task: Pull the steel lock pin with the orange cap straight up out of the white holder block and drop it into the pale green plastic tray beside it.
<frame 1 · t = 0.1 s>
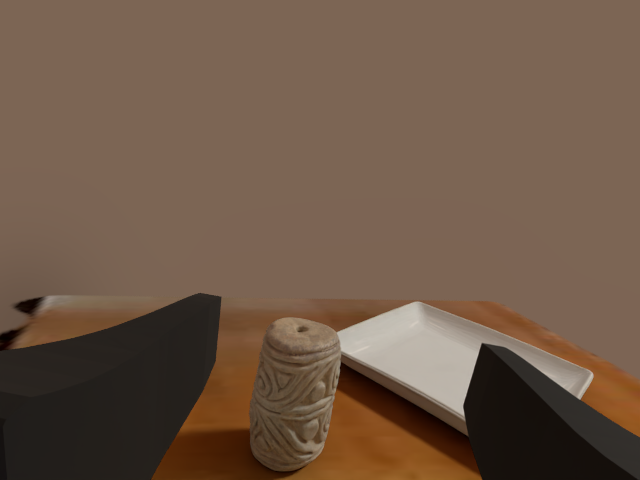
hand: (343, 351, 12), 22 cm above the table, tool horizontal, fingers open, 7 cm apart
square plate: (455, 381, 57), on the table
carving: (283, 455, 38), on the table
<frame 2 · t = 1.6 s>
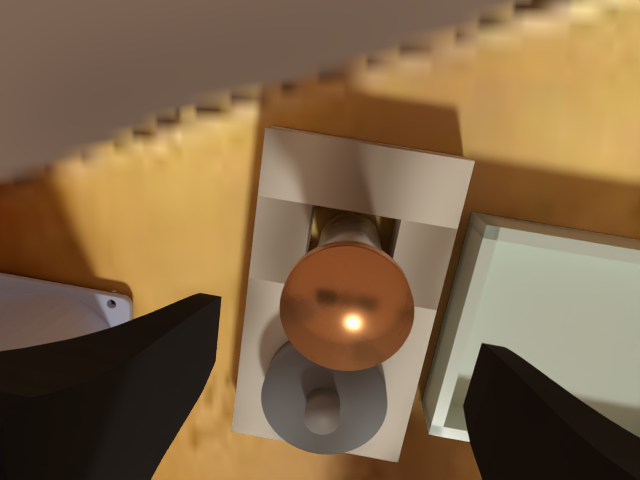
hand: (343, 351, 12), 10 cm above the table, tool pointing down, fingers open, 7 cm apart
tray: (561, 334, 22), on the table
white holder block: (340, 295, 23), on the table
lock pin: (349, 241, 22), resting in white holder block
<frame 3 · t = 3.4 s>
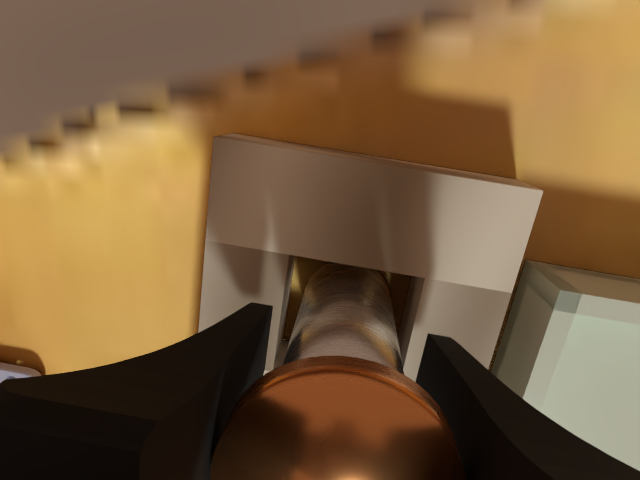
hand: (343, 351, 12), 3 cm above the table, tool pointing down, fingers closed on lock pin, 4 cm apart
white holder block: (332, 373, 16), on the table
lock pin: (346, 299, 15), resting in white holder block, touching gripper
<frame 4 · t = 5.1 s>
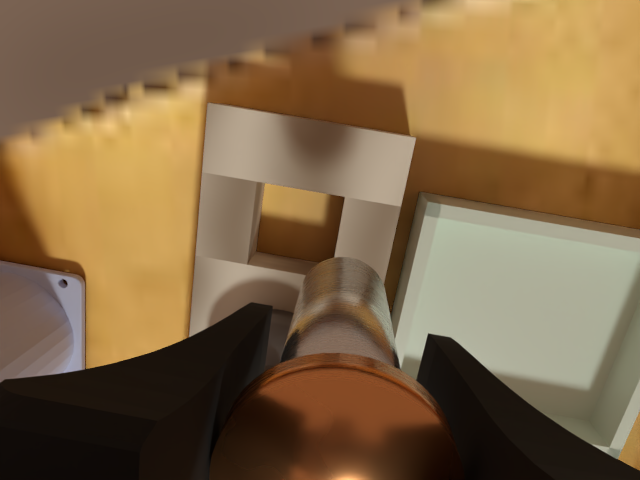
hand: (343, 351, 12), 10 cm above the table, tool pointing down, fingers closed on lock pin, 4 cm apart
tray: (510, 315, 22), on the table
white holder block: (291, 276, 23), on the table
lock pin: (342, 297, 15), point 7 cm above the table, touching gripper
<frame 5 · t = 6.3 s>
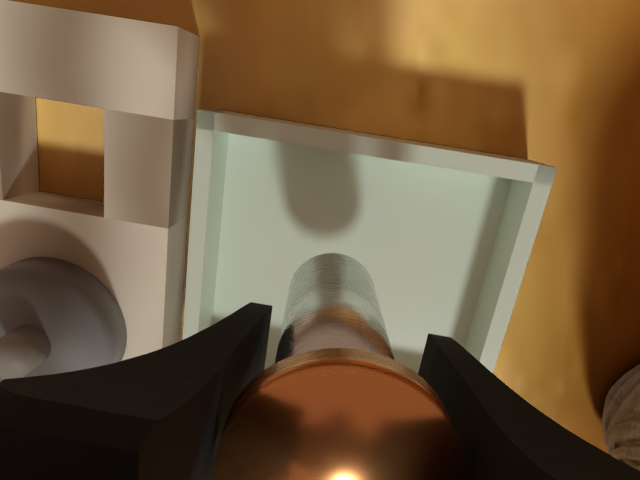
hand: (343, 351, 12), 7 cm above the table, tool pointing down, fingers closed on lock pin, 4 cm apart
tray: (347, 266, 18), on the table
white holder block: (84, 221, 19), on the table
lock pin: (331, 293, 15), point 3 cm above the table, touching gripper
when the fingers open (6 cm above the table, at t = 7.3 s): lock pin drops 2 cm, resting on tray.
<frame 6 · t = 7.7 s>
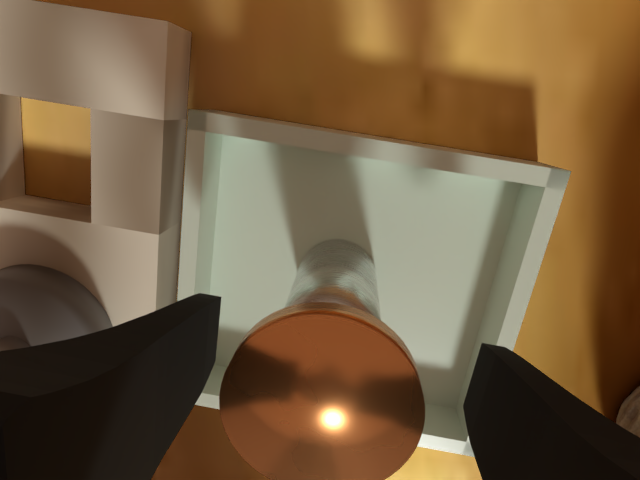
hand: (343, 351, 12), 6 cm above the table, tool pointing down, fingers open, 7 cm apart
tray: (348, 273, 17), on the table
white holder block: (73, 226, 18), on the table
lock pin: (337, 275, 17), point 1 cm above the table, touching tray
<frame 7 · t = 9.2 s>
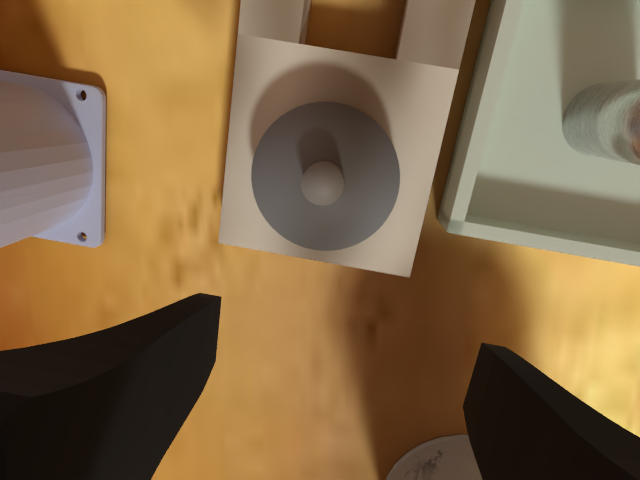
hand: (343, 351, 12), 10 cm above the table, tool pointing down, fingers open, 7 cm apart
tray: (601, 123, 19), on the table
white holder block: (344, 81, 20), on the table
lock pin: (598, 120, 19), point 1 cm above the table, touching tray
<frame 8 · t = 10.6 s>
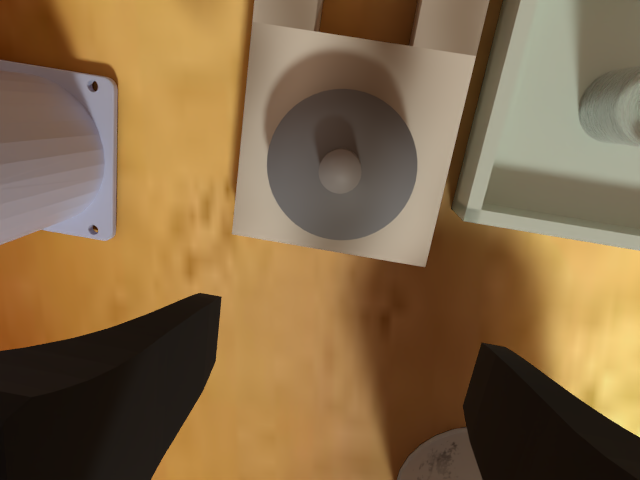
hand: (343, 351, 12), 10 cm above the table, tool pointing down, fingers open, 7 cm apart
tray: (617, 110, 19), on the table
white holder block: (358, 69, 19), on the table
lock pin: (615, 106, 18), point 1 cm above the table, touching tray
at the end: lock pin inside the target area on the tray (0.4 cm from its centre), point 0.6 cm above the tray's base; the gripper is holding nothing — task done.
